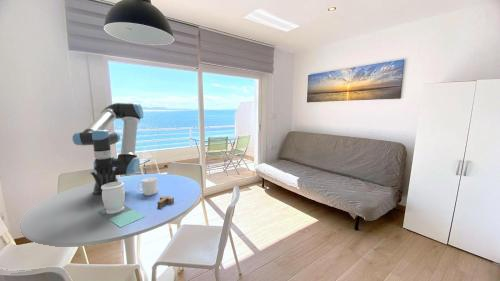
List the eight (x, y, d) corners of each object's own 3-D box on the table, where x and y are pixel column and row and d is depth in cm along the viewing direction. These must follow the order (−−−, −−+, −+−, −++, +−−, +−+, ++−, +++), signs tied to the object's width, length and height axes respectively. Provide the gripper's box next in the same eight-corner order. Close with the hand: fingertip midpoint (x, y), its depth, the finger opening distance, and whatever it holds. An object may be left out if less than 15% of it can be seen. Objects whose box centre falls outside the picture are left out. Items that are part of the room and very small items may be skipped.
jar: (111, 206, 117) (108, 181, 115) (129, 205, 118) (127, 180, 116) (99, 215, 106) (96, 188, 104) (119, 214, 107) (117, 188, 105)
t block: (153, 206, 117) (153, 201, 117) (162, 200, 125) (162, 195, 124) (165, 208, 115) (165, 203, 115) (174, 201, 123) (173, 197, 123)
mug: (160, 190, 141) (159, 177, 139) (153, 195, 132) (152, 182, 131) (144, 189, 142) (142, 176, 140) (136, 195, 133) (134, 181, 131)
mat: (98, 212, 111) (98, 211, 111) (122, 203, 120) (122, 203, 120) (120, 227, 96) (120, 227, 96) (145, 216, 106) (145, 216, 106)
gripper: (91, 161, 105) (96, 203, 108) (119, 156, 115) (123, 195, 119) (86, 159, 109) (91, 200, 113) (113, 154, 120) (117, 192, 123)
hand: (107, 197), depth 116 cm, fingers closed
